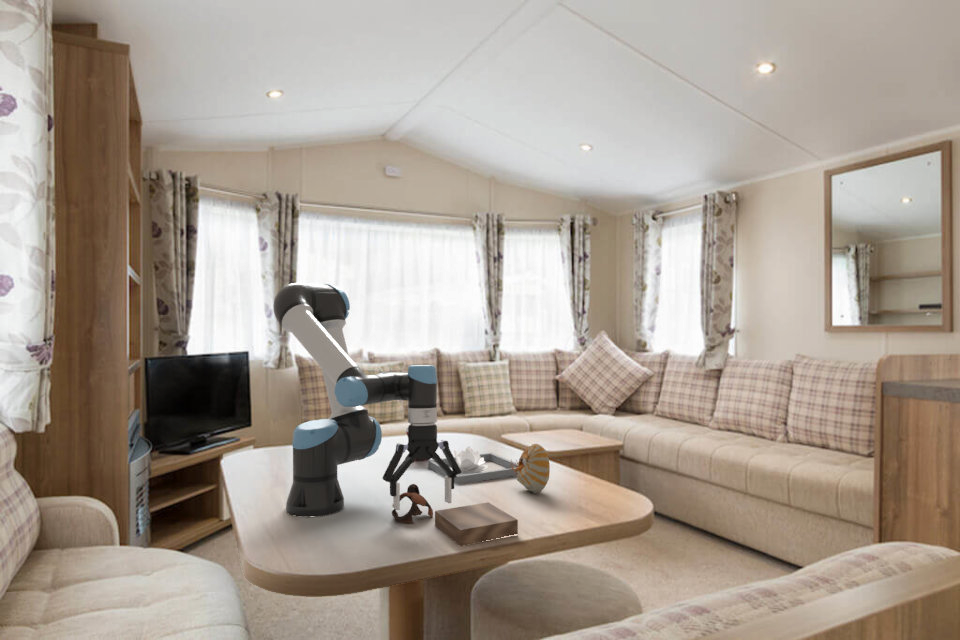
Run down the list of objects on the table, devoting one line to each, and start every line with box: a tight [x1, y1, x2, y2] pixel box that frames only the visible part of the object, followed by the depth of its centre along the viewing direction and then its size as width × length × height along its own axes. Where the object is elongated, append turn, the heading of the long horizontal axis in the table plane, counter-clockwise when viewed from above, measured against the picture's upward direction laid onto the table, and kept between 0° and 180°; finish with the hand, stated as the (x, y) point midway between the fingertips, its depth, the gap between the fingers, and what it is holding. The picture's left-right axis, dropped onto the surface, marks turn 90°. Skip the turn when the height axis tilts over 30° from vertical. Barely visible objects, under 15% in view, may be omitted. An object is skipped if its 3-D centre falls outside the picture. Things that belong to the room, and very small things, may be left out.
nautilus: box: [510, 443, 551, 494], centre depth 179 cm, size 8×22×15 cm, turn 24°
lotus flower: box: [447, 446, 490, 475], centre depth 200 cm, size 14×15×9 cm
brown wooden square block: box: [434, 501, 519, 547], centre depth 143 cm, size 15×15×5 cm
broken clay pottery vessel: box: [391, 483, 434, 524], centre depth 153 cm, size 12×9×8 cm
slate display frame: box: [427, 452, 518, 485], centre depth 202 cm, size 25×24×2 cm
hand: (422, 506), depth 152 cm, fingers open, 14 cm apart
